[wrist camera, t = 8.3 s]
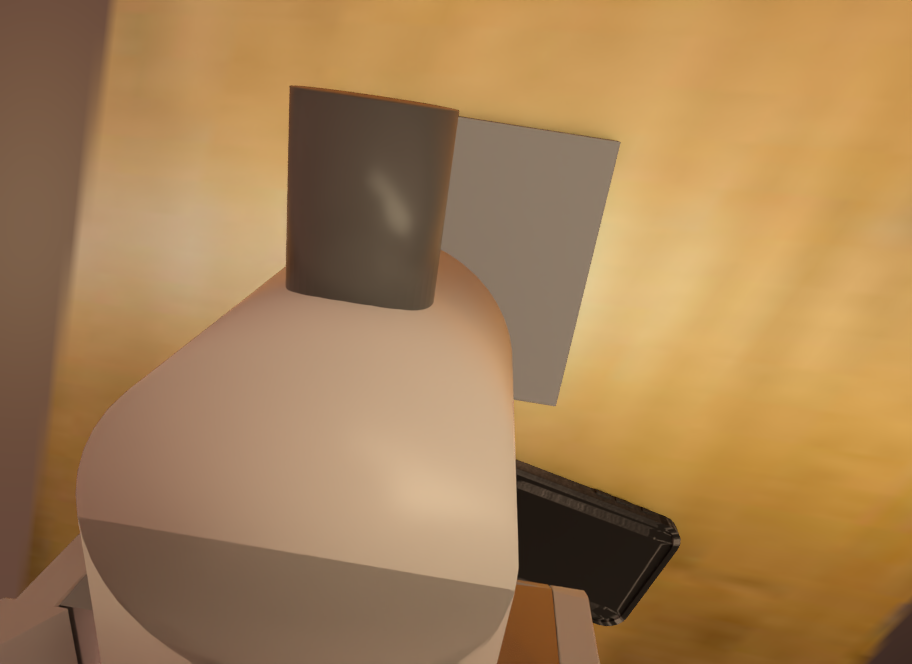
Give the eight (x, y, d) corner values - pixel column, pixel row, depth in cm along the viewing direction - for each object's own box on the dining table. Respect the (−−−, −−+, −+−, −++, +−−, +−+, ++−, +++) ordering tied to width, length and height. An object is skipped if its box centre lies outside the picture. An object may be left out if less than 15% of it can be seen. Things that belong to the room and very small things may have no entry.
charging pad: (322, 95, 23) (317, 95, 22) (617, 141, 22) (620, 141, 22) (310, 359, 27) (306, 365, 27) (554, 399, 27) (555, 406, 27)
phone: (616, 631, 32) (367, 541, 31) (613, 614, 33) (371, 527, 32) (690, 532, 29) (416, 429, 28) (683, 517, 30) (420, 416, 29)
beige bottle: (256, 74, 7) (2, 51, 4) (563, 121, 7) (625, 148, 4) (256, 744, 13) (156, 1006, 9) (430, 774, 13) (400, 1051, 9)
